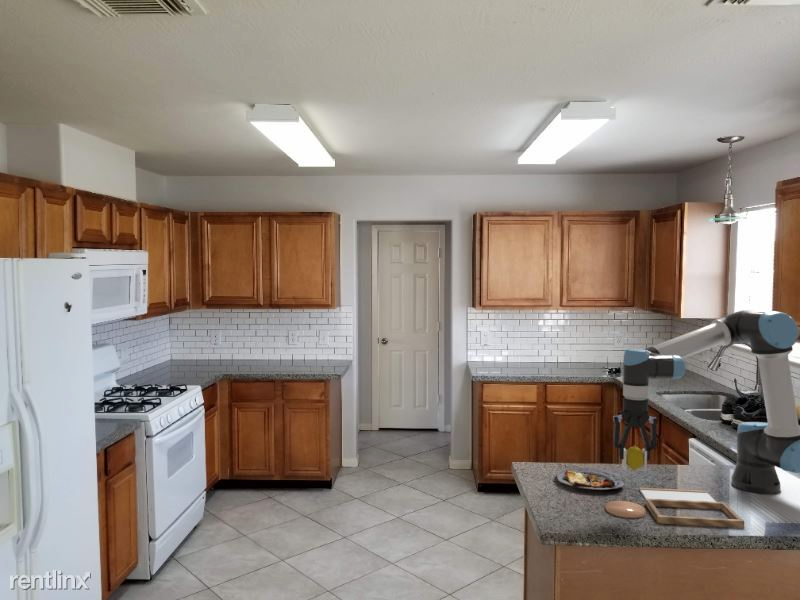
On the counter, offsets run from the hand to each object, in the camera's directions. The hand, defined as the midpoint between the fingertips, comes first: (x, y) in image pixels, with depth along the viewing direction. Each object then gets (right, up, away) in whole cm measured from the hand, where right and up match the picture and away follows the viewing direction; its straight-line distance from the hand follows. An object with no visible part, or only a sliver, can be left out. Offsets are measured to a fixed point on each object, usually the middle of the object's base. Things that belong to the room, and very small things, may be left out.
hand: (634, 469), depth 188 cm
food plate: (-5, -13, +28) cm, 32 cm away
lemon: (0, -1, 0) cm, 1 cm away
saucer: (-2, -14, +1) cm, 14 cm away
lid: (+20, -13, +11) cm, 26 cm away
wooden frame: (+17, -14, -3) cm, 22 cm away
